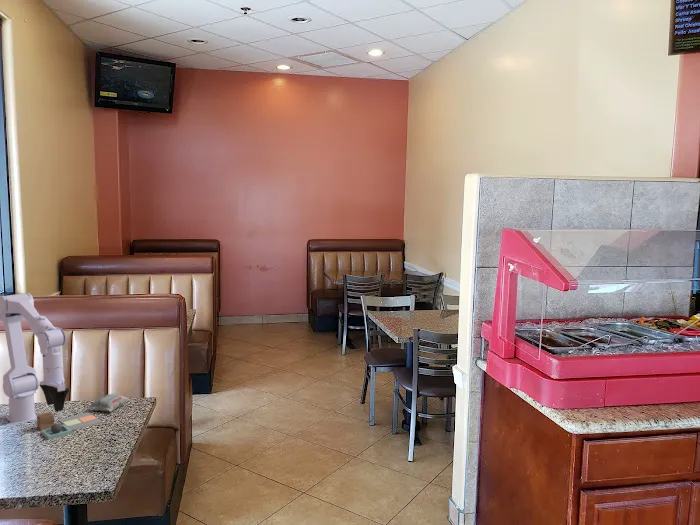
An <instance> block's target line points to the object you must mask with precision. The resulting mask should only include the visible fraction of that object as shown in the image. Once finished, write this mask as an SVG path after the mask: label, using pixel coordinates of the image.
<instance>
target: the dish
mask: <svg viewBox="0 0 700 525" xmlns="http://www.w3.org/2000/svg"><path fill="white" fill-rule="evenodd" d="M60 425H61V426H62V430H61V431H60V432H59V433H57V434H54V433H52V432H51V428H48V429H44V430H40V432H41V434H42V435H43V437H45V438H46V439H47V440H52V439H56V438H60V437H64V436H68V435H72V433H73V432H72V431H73V430H71V429H69V428H68V427H67V426H66V425H65V424H64V425H63V424H60Z"/></svg>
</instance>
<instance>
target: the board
mask: <svg viewBox="0 0 700 525" xmlns="http://www.w3.org/2000/svg"><path fill="white" fill-rule="evenodd" d="M58 422H60V423H61V425H64V424H65V425H66V426H67V427H68V428H69V429H71V430H72V431H76V430H78V429H79V430H80V429H83V428H87V427H90V426H93V425H94V426H95V425H98V424H102V423H103V422H102V421H101V420H100V419H98V418H97V417H95V416H94V415H93V414H92V413H90V412H86V413H82V414H78V415H73V416H69V417H64V418H61V419H58Z"/></svg>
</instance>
